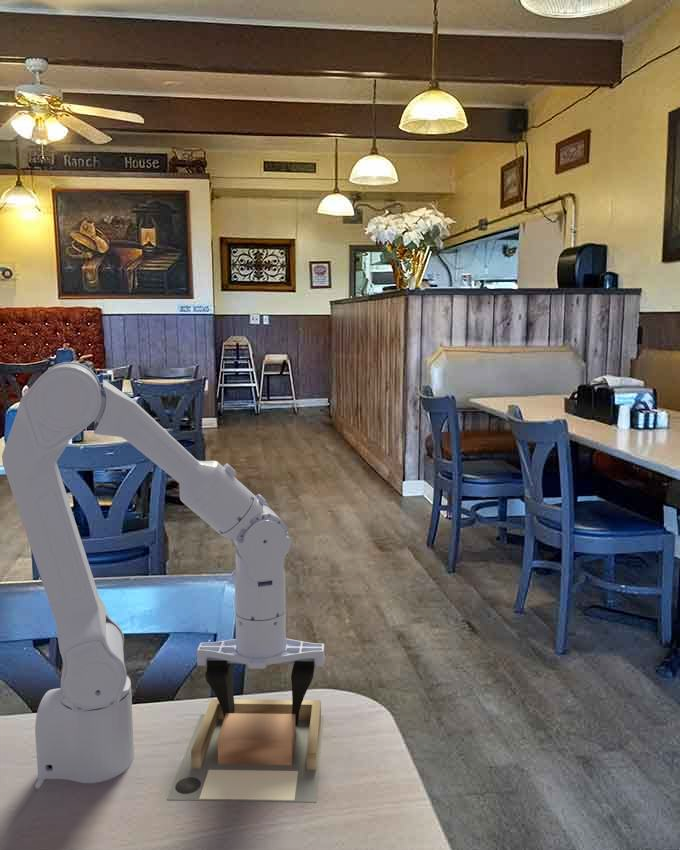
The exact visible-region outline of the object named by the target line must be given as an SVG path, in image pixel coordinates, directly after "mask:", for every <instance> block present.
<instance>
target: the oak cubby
mask: <svg viewBox="0 0 680 850" xmlns="http://www.w3.org/2000/svg"><path fill="white" fill-rule="evenodd" d="M234 713H251V714H292V699H250V698H249V699H247V698H246V699H243V698H241V699H239V698H238V699H237V698H234ZM204 714H205V717H204V719H203V722H202V724H201V727H200V729H199V732H198V735H197V737H196V740H195V742H194V745H193V747H192V750H191V766H192V768H197V769H201V767H202V764H203V761H204V758H205V755H206V752H207V750H208V747H209V744H210V741H211V738H212V735H213V733H214V730H215V727H216V724H217V721H218V719H224V715H223V712H222V709H221V706H220V703H219V701H218V699H217V698H215V699H214V698H211V699H210V701H209V703H208V707H207V709H206V712H205V713H204ZM321 716H322V700H321V699H319V700H316V699H315V700H314V699H313V700H312V699H303V701H302V704H301V707H300V711H299V720H310V728H309V737H308V745H307V770H316V766H317V755H318V744H319V733H320V722H321Z"/></svg>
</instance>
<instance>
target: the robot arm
mask: <svg viewBox="0 0 680 850" xmlns="http://www.w3.org/2000/svg"><path fill="white" fill-rule="evenodd" d="M101 385H102V386H101ZM102 388H103V389H102ZM14 417H15V418H14V421H13V423H12V426H11V428H10V431H9V434H8V436H7V440H6V443H5V446H4V448H3V451H2V456H1V458H2V460H1V461H2V466H3V470H4V472H5V475H6V478H7V481H8V484H9V486H10V487H9V488H10V491H11V493H12V496H13V499H14V502H15V505H16V507H17V508H16V509H17V511H18V513H19V516H20V520H21V523H22V525H23V529H24V532H25V534H26V538H27V540H28V541H27V542H28V543H29V547H30V551H31V553H32V555H33V559H34V562H35V564H36V568H37V571H38V574H39V577H40V580H41V582H42V585H43V589H44V590H45V594H46V597H47V600H48V604H49V607H50V610H51V612H52V615H53V618H54V621H55V626H56V634H57V642H58V648H59V653H60V655H61V660H62V664H63V668H62V673H61V676H60V677H61V678H60V687H59V688H53V689H52V688H51V689H49V690H47V691H46V692H45V694H44V695H43V697H42V698H41V700H40V703H39V705H38V708H37V712H36V717H35V725H34V727H35V728H34V735H35V748H36V749H35V751H36V761H37V762H36V765H37V778H38V779H37V782H36V783H35V784H34V786H35V789H36V790H39V789H40V787H41V786H42V784H43V783H44V781H45V780H65V781H67V780H68V781H73V782H75V783H81V784H96V783H97V784H98V783H101V782H105V781H109V780H111V779H114V778H116V777H117V776H120V775H121V774H123V773H124V772H126V771H127V770H128V769H129V768H130V767H131V766H132V764H133V762H134V760H135V742H134V725H133V724H134V723H133V722H134V721H133V703H132V702H133V700H132V699H133V698H132V681H131V679H130V677H129V676H128V675H127V673H128V672H127V668H126V665H125V654H124V653H125V652H124V646H125V636H124V635H125V634H124V633H123V630H122V628H121V627H120V626H119V624H118V623H117V622H115V621H114V620H113V619H112V618H111V617H110V615H109V614H108V612H107V608H106V606H105V603H104V601H103V600H102V598H101V596H100V595H99V592H98V588H97V585H96V581H95V578H94V576H93V573H92V569H91V567H90V564H89V561H88V557H87V554H86V551H85V548H84V545H83V542H82V538H81V535H80V532H79V529H78V525H77V523H76V520H75V516H74V513H73V511H72V507H71V504H70V500H69V497H68V494H67V491H66V488H65V485H64V482H63V479H62V475H61V473H60V469H59V465H58V461H59V459H60V457H61V456H62V454H63V453H64V451H65V450H66V448H67V446H68V445H69V442H70V441H71V440H72V439H73V438H75V437H76V436H77V435H78V434H79V435H80V433H82V431H83V430H85V429H86V428H87V427H89V426H90V425H91V424H92V423H93V422H94V427H93V429H94V430H93V433H94V434H95V435H99V436H100V435H101V436H110V437H117V438H118V437H119V438H122V439H124V440H126V441H127V442H128V443H129V444H130V445H131V446H132V447H134V448H135V449H137V450H138V451H139V452H140V453H142V454H143V455H144V456H145V457H146V458H148V459H149V460H150V461H151V462H152V463H154V464H155V466H157V467H159V468H160V469H161V470H162V471H164V472H165V474H167V475H168V476H170V477H171V478H172V479H174V481H176V482H177V483H178V484H179V500H180V501H181V502H182V503H183V504H184V505H185V506H186V507H187V508H188V509H190V510H191V511H192V512H193V513H194V514H196V516H197V517H200V519H201V520H202V521H204V522H205V523H206V524H207V525H208V526H209V527H211V528H212V529H213V530H214V531H215V532H216V533H218V534H219V535H220V536H221V537H224V538H226V539H227V538H228V539H230V541H231V543H232V544H234V545H235V546H236V548H237V549H235V551H234V552H235V556H234V557H235V571H234V604H235V605H234V609H235V610H234V612H235V614H234V615H235V638H233V639H226V640H219V641H212V642H211V641H210V642H200V643H199V645H198V647H197V648H196V649H197V650H196V659H197V660H196V663H197V666H199V667H200V666H201V667H206V671H205V673H204V677H205V680H206V683H207V684H208V685H209V686H210V689H211V690H212V691H213V693H214V694H215V695H214V696H215V697H216V699H218V701H219V703H220V706H221V709H222V712H223V715H224V718H225V714H226V713H234V699H235V696H234V664H242V665H247V668H248V669H250V670H263V669H264V670H265V669H266V668H267V666H270V665H275V664H276V665H284V664H285V665H293V666H292V670H291V675H290V681H291V696H292V697H291V700H292V714H295V722H296V726H298V720H299V711H300V707H301V704H302V701H303V700H304V698H305V695H306V693H307V691H308V689H309V687H310V685H311V683H312V681H313V679H314V674H315V667H316V668H320V667H321V668H324V667H325V666H324V665H325V643H315V642H309V641H302V640H298V639H297V640H296V639H292V638H287V637H286V636H287V634H286V633H287V628H286V627H287V626H286V624H287V623H286V617H287V616H286V613H287V612H286V571H285V558H286V556H287V554H288V553H289V551H290V549H291V546H292V537H290V535H289V532H288V527H287V526H286V524H285V523H284V521H283V520H282V519H281V518H280V517H279V516H278V514H277V513H276V512H275V511H273V510H272V508H270V507H271V506H270V505H269V504H268V503H267V500H266V499H265V498H264V497H263V495H261V494H260V493H258V494H256V495H255V494H254V493H253V492H252V491H251V490H249V489H248V488H247V487H246V486H245V485H244V484H243V483H242V482H241V481H240V480H238V479H237V478H236V477H235V476H236V475H237V471H236V470H235V469H234V468H233V467H232V466H231V465H230V464H229V463H225V464H223V465H222V464H221V463H220V462H219V461H217V460H198V459H197V458H195V456H193V455H192V454H191V452H190V451H188V450H187V449H186V448H185V447H184V446H183V445H182V444H181V443H180V442H179V441H178V440H177V439H175V438H174V436H172V435H171V434H170V433H169V432H168V431H167V429H165V428H164V427H163V426H162V425H161V424H160V423H159V422H158V421H156V419H154V418H153V417H152V415H150V414H149V413H148V412H147V411H146V410H145V409H144V408H143V407H142V406H141V405H139V404H138V403H137V402H136V401H135V400H134V399H133V398H131V397H130V396H129V395H127V394H125V393H124V392H123V391H121V390H120V389H118V388H117V387H116V386H114V385H113V384H111V383H110V382H108V381H107V380H105V379H102V384H101V382H100V380H99V377H98V376H97V375H96V373H95V372H94V371H93V370H92V369H91V368H89V367H87V366H86V365H85V364H81V363H79V362H75V361H74V362H73V361H64V362H60V363H57V364H54V365H52V366H51V367H49V368H48V369H47V370H46V371H44V372H43V373H42V374H40V376H39V377H38V378H37V379H36V380H35V381H34V383H33V384H32V385H31V386H30V387H29V389H28V390H27V391H26V392H25V394H24V395H23V396H22V397H21V398H20V400H19V405H18V408H17V411H16V414H15V416H14Z"/></svg>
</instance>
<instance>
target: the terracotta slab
mask: <svg viewBox="0 0 680 850" xmlns="http://www.w3.org/2000/svg"><path fill="white" fill-rule="evenodd" d="M295 739H296V722H295V714H251V713H226V714H225V718H224V721H223V724H222V727H221V730H220V733H219V736H218V739H217V742H218V764H227V765H292V760H293V753H294V746H295Z"/></svg>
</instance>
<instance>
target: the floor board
mask: <svg viewBox="0 0 680 850" xmlns="http://www.w3.org/2000/svg"><path fill="white" fill-rule="evenodd" d="M205 714H206V713H202V714H200V716H199V719H198V720H197V721H198V722H197V724H196V727H195V729H194V731H193V733H192V737H191V739H190V742H189V744H188V747H187V749H186V752H185V753H184V756H183V758H182V761H181V764H180V765H179V769H178V772H177V774H176V776H175V779H174V781H173V784H172V785H171V788H170V791H169V794H168V796H167V799H166V801H196V802H197V801H203V802H205V801H206V802H210V801H211V802H259V803H261V802H264V803H267V802H268V803H271V802H272V803H274V802H275V803H278V802H279V803H317V799H318V798H317V796H318V787H319V785H318V784H319V774H320V763H321V752H322V751H321V750H322V740H323V729H324V728H323V726H324V715H321V722H320V733H319V744H318V755H317V766H316V770H307V745H308V737H309V728H310V720H298V726H296V739H295V746H294V753H293V760H292V765H227V764H218V742H217V739H218V736H219V733H220V730H221V727H222V724H223V721H224V719H218V721H217V724H216V727H215V730H214V733H213V735H212V738H211V741H210V744H209V747H208V750H207V752H206V755H205V758H204V761H203V764H202V767H201V769H197V768H192V766H191V750H192V747H193V745H194V742H195V740H196V737H197V735H198V732H199V729H200V727H201V724H202V722H203V719H204V717H205Z"/></svg>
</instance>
